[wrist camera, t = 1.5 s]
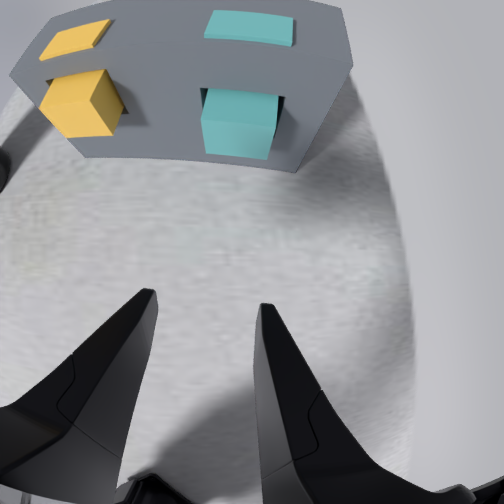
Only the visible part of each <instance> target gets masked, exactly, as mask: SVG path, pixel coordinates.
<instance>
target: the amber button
mask: <svg viewBox="0 0 504 504" xmlns="http://www.w3.org/2000/svg"><path fill="white" fill-rule="evenodd" d="M123 108H124V103H123V101H122V99H121V97H120V95H119V93H118V91H117V89H116V87H115V85H114V83H113V81H112V79H111V77H110V75H109V73H108V71H107V69H101V70H94V71H88V72H82V73H77V74H72V75H67V76H62V77H58V78H54V80H53V82H52V84H51V86H50V87H49V89H48V91H47V93H46V95H45V97H44V99H43V101H42V103H41V105H40V107H39V110H40V111H41V112H42V113H43V114H44V115H45V116H46V117H47V118H48V119H49V120H50V121H51V123H52V124H53V125H54V126H55V127H56V128H57V129H58V130H59V131H60V132H61V133H62V134H63V135H64V136H65V137H66V138H75V137H92V136H113V135H114V132H115V129H116V126H117V124H118V121H119V118H120V116H121V113H122V110H123Z"/></svg>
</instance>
